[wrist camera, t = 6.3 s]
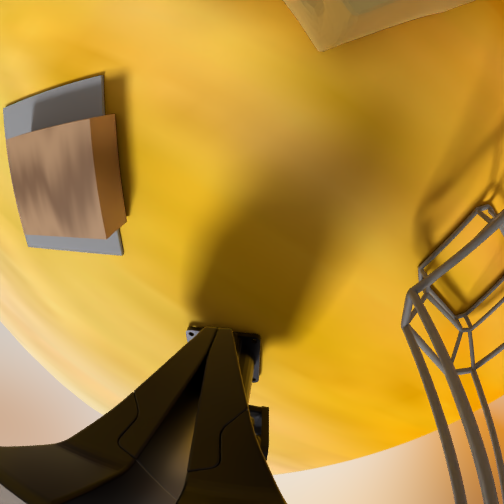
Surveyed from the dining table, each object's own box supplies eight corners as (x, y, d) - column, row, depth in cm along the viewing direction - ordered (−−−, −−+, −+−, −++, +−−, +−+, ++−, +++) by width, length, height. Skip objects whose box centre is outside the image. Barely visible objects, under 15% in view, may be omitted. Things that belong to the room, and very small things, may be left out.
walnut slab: (106, 239, 18) (24, 234, 19) (126, 221, 21) (46, 219, 22) (89, 118, 14) (5, 139, 15) (115, 113, 17) (31, 131, 18)
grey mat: (123, 253, 23) (121, 255, 22) (30, 245, 24) (28, 246, 24) (103, 75, 16) (101, 75, 16) (5, 107, 17) (3, 108, 17)
